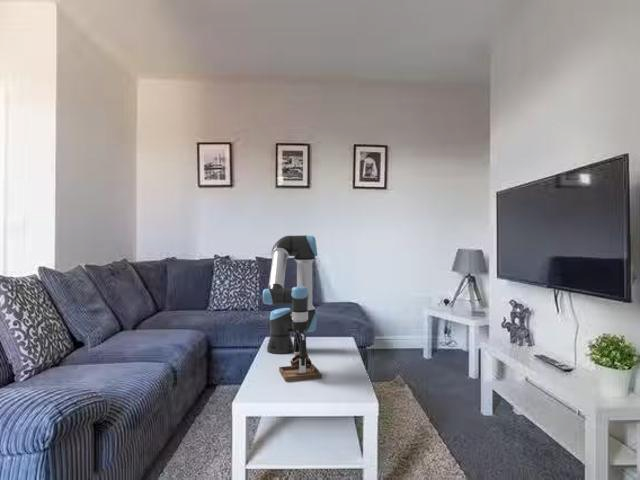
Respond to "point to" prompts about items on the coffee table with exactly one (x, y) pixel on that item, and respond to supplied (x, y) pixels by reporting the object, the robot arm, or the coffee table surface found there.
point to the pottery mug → (296, 363)
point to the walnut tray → (294, 373)
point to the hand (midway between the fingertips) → (299, 369)
